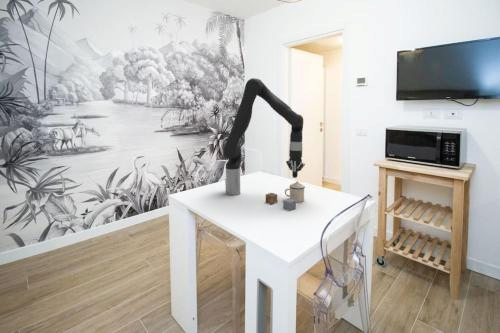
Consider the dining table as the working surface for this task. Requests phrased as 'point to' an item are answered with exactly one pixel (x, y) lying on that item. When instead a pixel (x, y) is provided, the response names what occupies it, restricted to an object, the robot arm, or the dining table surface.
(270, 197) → the walnut block
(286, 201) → the slate-grey block
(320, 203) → the dining table surface
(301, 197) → the teacup with lid
